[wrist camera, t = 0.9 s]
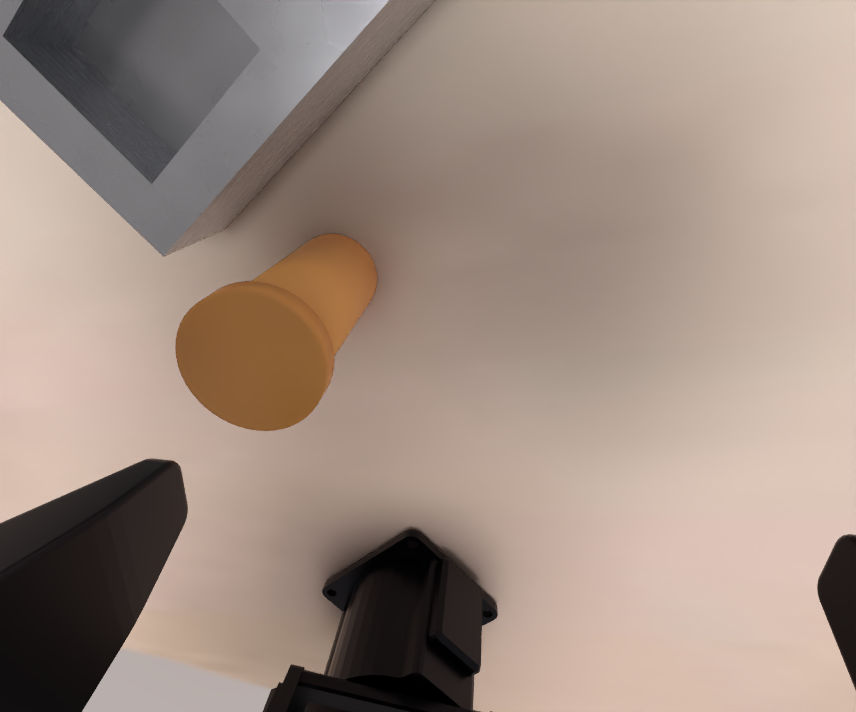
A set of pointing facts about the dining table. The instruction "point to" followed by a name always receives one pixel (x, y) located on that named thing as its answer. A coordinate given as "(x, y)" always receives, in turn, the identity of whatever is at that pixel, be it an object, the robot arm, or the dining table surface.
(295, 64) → the grey slotted base
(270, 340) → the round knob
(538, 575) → the dining table surface
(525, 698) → the dining table surface
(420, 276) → the dining table surface
